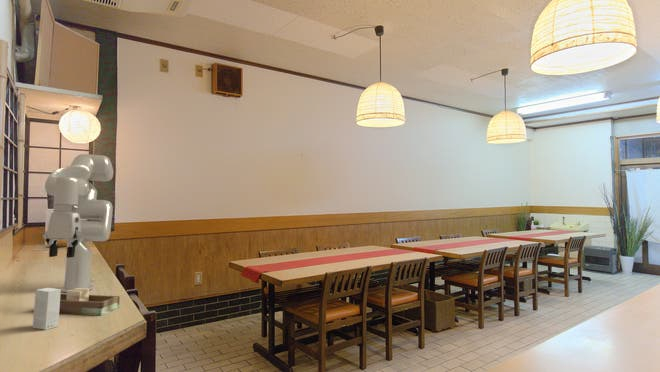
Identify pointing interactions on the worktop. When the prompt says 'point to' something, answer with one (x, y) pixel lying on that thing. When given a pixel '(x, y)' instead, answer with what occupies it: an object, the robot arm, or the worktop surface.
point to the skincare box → (46, 308)
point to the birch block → (78, 294)
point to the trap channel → (89, 305)
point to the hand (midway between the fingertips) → (61, 256)
